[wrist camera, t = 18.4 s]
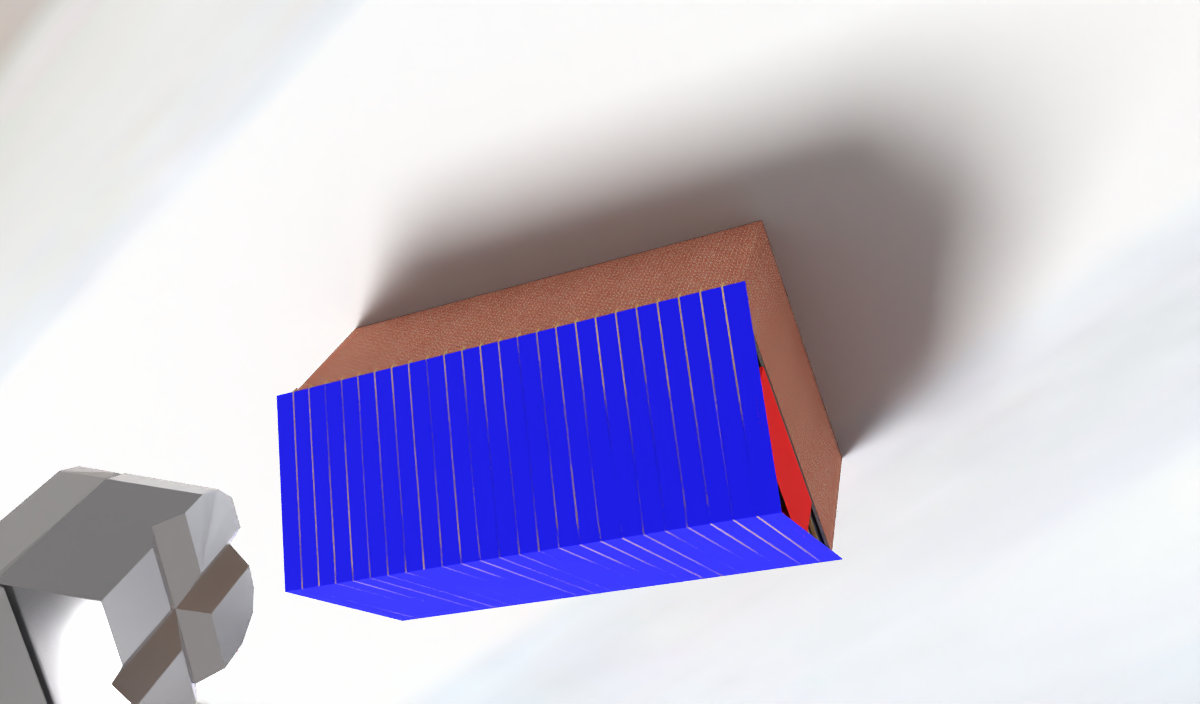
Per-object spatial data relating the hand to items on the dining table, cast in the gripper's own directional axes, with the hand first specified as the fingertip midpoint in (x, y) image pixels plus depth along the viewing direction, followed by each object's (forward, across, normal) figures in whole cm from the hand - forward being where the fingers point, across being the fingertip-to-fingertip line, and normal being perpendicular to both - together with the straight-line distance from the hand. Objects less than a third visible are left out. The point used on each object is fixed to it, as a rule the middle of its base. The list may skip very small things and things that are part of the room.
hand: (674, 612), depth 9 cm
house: (+34, +10, +19) cm, 40 cm away
